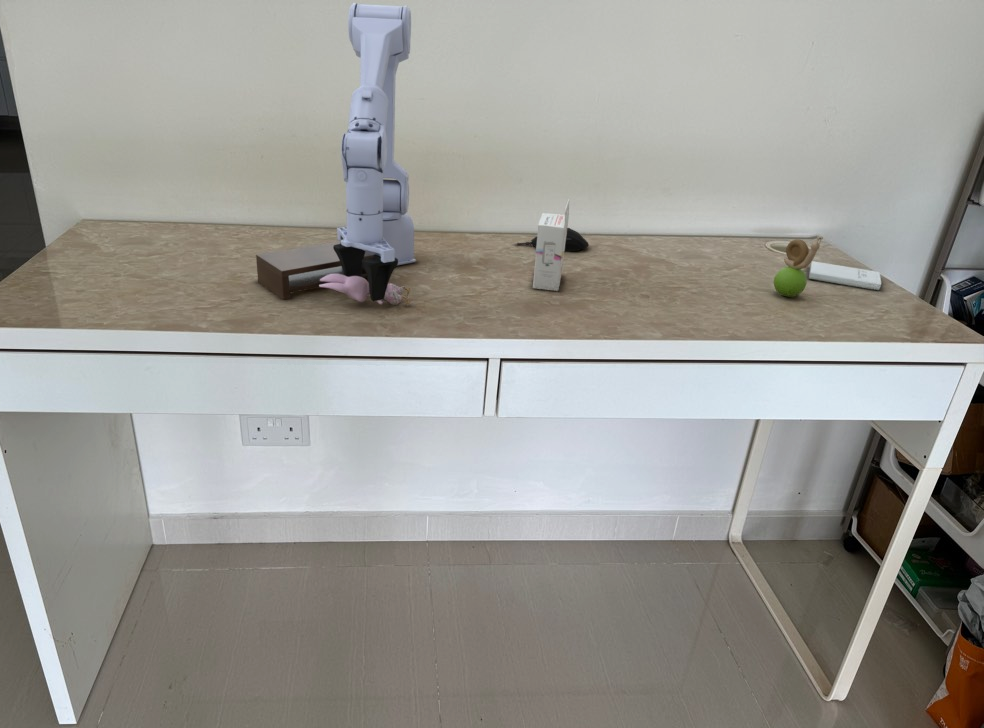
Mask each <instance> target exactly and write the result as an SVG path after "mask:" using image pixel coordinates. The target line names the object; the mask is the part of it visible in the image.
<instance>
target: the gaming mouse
mask: <svg viewBox="0 0 984 728" xmlns="http://www.w3.org/2000/svg"><path fill="white" fill-rule="evenodd" d="M522 245H523V246H524V245H525V246H531V245H532V246H533V247H535V248H536V246H537V236H535V237H534V238H532V239H531V240H530V241H526V242H517V246H522ZM589 245H590V244H589V242H588V241H587V240H586V239H585V238H584V237H583V236H582V235H581V234H580V233H579V232H578V231H577V230H574V229H572V228H570V227H567V235H566V243H565V251H564V252H577V251H582V250H583V249H586V248H588V247H589Z"/></svg>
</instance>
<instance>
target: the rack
mask: <svg viewBox="0 0 984 728" xmlns="http://www.w3.org/2000/svg"><path fill="white" fill-rule="evenodd" d="M340 242H341V241H340V240H338V241H332V242H325V243H319V244H313V245H308V246H302V247H296V248H289V249H282V250H276V251H270V252H264V253H258V254H255V259H256V272H257V283H259V284H260V285H262V286H263V287H265V288H266V289H267V290H269V291H270V292H271V293H273V294H274V295H276V296H277V297H278V298H280V299H281V300H283V301H284V300H285V301H286V300H289V299H291V293H297V292H301V291H308V290H313V289H318V288H320V287H319V285H321V284H325V283H332V282H324V281H320V279H321V278H323V277H325V276H327V275H329V274H342V275H344V272H343V268H342V265H341V262H340V260H339V258H338V256H337V254H336V252H335V251H334V249H333V246H334V245H336V244H340ZM369 258H373V255H372V254H370V253H368V252H366V251H365V255H364V259H369ZM361 277H362V278H364V279H366V280H367V282H368V277H367V273H366V270H365V267H364V265H363V264H362V274H361Z"/></svg>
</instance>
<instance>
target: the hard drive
mask: <svg viewBox="0 0 984 728" xmlns="http://www.w3.org/2000/svg"><path fill="white" fill-rule="evenodd" d="M809 265H810V267H809V273H808V280H813V281H820V282H826V283H831V284H837V285H843V286H849V287H855V288H862V289H868V290H873V291H874V290H875V291H880V290H881V286H882V279H881V272H880V271H876V270H869V269H862V268H856V267H851V266H846V265H838V264H833V263H832V264H831V263H827V262H820V261H814V260H812V262H811V263H810V264H809Z"/></svg>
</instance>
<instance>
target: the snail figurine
mask: <svg viewBox="0 0 984 728" xmlns="http://www.w3.org/2000/svg"><path fill="white" fill-rule="evenodd" d="M823 238H824V237H823V236H817V237H816V240H817V241H814V242H812V243H811V245H810V250H809V246H808V244H807V243H806V241H804V240H803V239H799V238H795V239H792V240H790V242H789V243H788V244H787V245H786V248H785V252H786V253H785V254H786V257H783V261H784V263H785V267H783V268H781V269H779V271H777V273H776V274H775V276H774V279H773V286H774V289H775V291H776V292H777V293H778V294H779V295H780V296H783V297H787V298H792V297H796V296H798V295H800V294H801V293H802V292H804V290H805V288H806V286H807V283H808V280H807V275H806V273H805V272H804V271H803V269H806V268H808V266H809V265H811V262H812V261H814V258H815V256H816V254H817V252H818V251H819V249H820V246H821V241H822V240H824V239H823Z"/></svg>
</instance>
